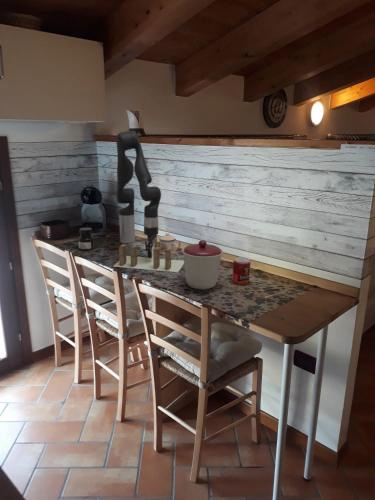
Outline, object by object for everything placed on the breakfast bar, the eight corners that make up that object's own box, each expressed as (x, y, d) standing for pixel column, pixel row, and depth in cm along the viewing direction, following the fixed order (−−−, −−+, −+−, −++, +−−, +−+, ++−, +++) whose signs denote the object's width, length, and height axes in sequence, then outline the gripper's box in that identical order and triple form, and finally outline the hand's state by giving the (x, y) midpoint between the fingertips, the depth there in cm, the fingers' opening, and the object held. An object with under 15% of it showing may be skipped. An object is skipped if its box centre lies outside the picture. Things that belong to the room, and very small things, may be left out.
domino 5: (167, 266, 198) (167, 247, 195) (171, 267, 197) (171, 248, 194) (165, 269, 193) (165, 250, 190) (168, 270, 193) (168, 250, 190)
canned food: (238, 286, 175) (240, 263, 172) (228, 280, 182) (230, 258, 179) (252, 283, 179) (254, 260, 175) (242, 278, 185) (243, 256, 182)
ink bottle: (75, 249, 225) (73, 229, 221) (84, 245, 233) (83, 226, 229) (89, 251, 221) (87, 231, 218) (98, 247, 229) (97, 228, 226)
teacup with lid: (156, 253, 221) (156, 233, 218) (167, 250, 227) (167, 230, 224) (170, 257, 213) (170, 237, 210) (182, 254, 220) (182, 234, 216)
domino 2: (134, 263, 201) (133, 245, 198) (137, 264, 201) (137, 245, 198) (130, 266, 196) (130, 247, 194) (134, 267, 196) (133, 248, 193)
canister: (229, 285, 175) (231, 240, 170) (203, 296, 163) (205, 248, 157) (199, 275, 187) (200, 233, 181) (172, 285, 174) (173, 240, 169)
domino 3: (151, 258, 210) (150, 240, 207) (154, 259, 209) (154, 241, 207) (148, 261, 205) (148, 243, 202) (151, 261, 205) (151, 243, 202)
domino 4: (156, 265, 199) (156, 247, 196) (159, 266, 198) (159, 247, 196) (153, 268, 194) (153, 249, 191) (156, 269, 194) (156, 250, 191)
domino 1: (123, 262, 202) (122, 244, 199) (126, 263, 202) (125, 244, 199) (119, 265, 198) (118, 246, 195) (122, 266, 197) (122, 247, 194)
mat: (125, 256, 214) (125, 255, 214) (185, 261, 208) (185, 260, 208) (112, 266, 197) (112, 266, 197) (177, 272, 190) (177, 272, 190)
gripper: (148, 222, 209) (148, 252, 214) (139, 227, 196) (140, 259, 201) (161, 222, 208) (161, 253, 213) (154, 228, 194) (154, 261, 199)
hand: (151, 256), depth 207 cm, fingers closed on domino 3, 5 cm apart
